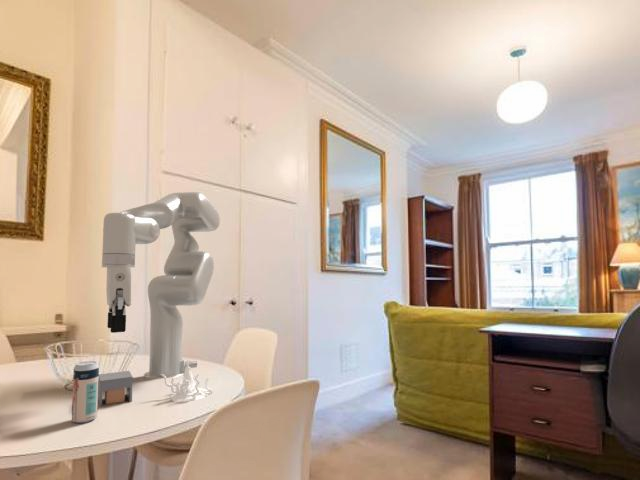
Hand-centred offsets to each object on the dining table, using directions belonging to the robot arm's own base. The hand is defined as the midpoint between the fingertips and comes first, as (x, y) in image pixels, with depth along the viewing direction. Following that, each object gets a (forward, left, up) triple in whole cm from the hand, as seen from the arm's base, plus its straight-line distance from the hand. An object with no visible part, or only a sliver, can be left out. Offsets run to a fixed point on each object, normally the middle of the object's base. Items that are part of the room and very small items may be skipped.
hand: (116, 329), depth 102 cm
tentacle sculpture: (-16, +6, -18) cm, 25 cm away
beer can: (+7, +11, -18) cm, 22 cm away
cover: (0, 0, -17) cm, 17 cm away
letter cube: (0, 0, -17) cm, 17 cm away
